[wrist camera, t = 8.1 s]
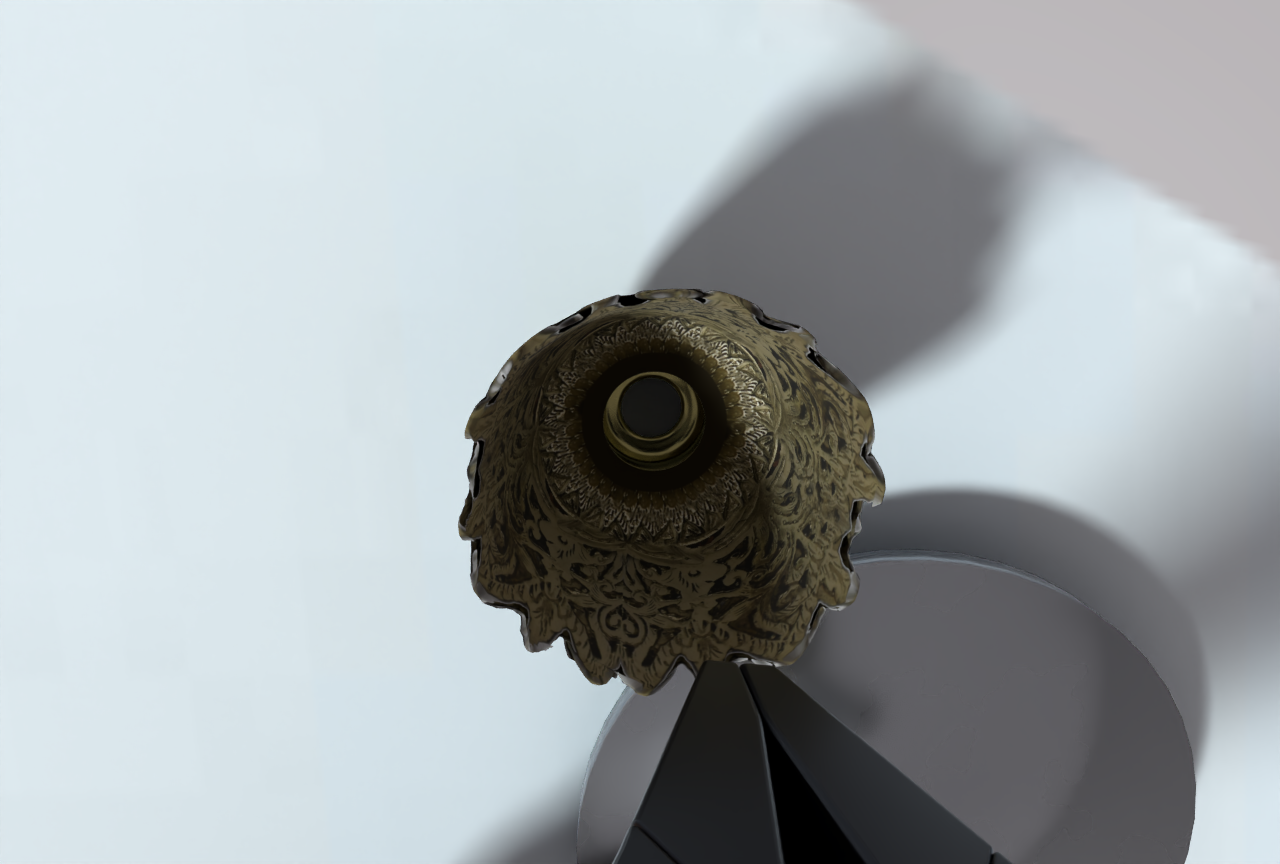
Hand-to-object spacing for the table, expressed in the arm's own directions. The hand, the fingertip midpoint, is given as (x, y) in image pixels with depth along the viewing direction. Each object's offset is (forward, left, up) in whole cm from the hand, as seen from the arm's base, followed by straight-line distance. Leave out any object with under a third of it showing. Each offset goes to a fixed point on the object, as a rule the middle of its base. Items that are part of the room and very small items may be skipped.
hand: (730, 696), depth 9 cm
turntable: (+8, -11, -11) cm, 18 cm away
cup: (0, +1, -13) cm, 13 cm away
